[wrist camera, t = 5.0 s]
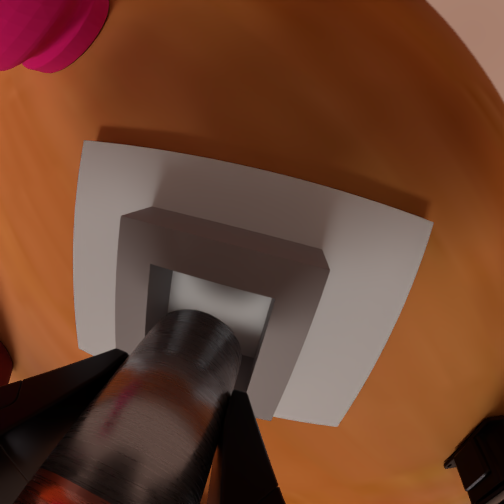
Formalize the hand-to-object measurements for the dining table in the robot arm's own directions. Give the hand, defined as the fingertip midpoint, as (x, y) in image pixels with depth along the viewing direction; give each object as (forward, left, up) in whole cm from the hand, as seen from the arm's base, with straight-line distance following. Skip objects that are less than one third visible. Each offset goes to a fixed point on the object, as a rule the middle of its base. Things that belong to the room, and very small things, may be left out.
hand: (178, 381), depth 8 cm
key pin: (0, 0, -2) cm, 2 cm away
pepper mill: (+13, -13, -6) cm, 20 cm away
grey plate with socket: (0, 0, -6) cm, 6 cm away
